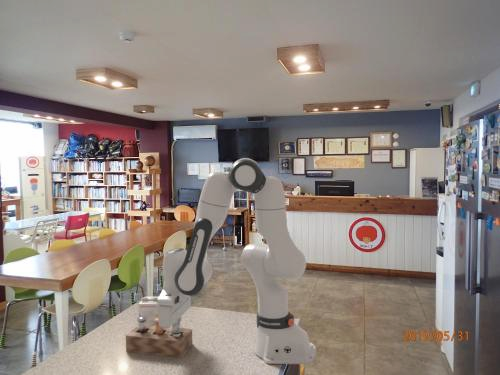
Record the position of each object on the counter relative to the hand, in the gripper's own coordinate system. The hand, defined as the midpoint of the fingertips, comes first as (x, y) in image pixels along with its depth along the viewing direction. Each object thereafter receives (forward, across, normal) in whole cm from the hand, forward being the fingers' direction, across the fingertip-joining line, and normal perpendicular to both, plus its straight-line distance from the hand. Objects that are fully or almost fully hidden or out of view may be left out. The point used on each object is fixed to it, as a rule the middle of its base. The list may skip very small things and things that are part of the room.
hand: (176, 329), depth 134 cm
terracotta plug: (+3, 0, -7) cm, 8 cm away
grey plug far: (+3, 0, -14) cm, 14 cm away
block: (+8, 0, -7) cm, 10 cm away
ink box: (+8, -16, -19) cm, 26 cm away
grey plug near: (+6, 0, 0) cm, 6 cm away
